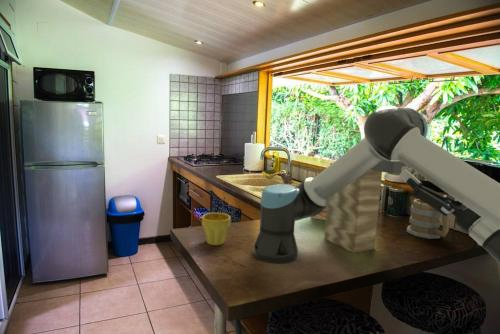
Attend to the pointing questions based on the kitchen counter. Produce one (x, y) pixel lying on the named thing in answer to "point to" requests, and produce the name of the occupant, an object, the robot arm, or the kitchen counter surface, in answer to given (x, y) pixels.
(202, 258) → the kitchen counter surface
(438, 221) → the tankard
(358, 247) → the zigzag striped pillar
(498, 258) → the robot arm
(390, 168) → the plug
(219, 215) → the plant pot
